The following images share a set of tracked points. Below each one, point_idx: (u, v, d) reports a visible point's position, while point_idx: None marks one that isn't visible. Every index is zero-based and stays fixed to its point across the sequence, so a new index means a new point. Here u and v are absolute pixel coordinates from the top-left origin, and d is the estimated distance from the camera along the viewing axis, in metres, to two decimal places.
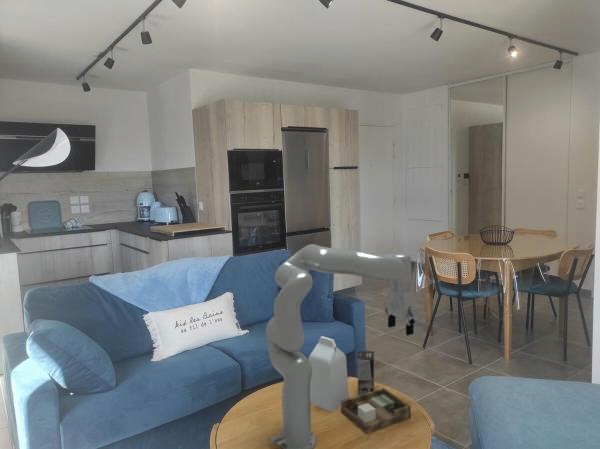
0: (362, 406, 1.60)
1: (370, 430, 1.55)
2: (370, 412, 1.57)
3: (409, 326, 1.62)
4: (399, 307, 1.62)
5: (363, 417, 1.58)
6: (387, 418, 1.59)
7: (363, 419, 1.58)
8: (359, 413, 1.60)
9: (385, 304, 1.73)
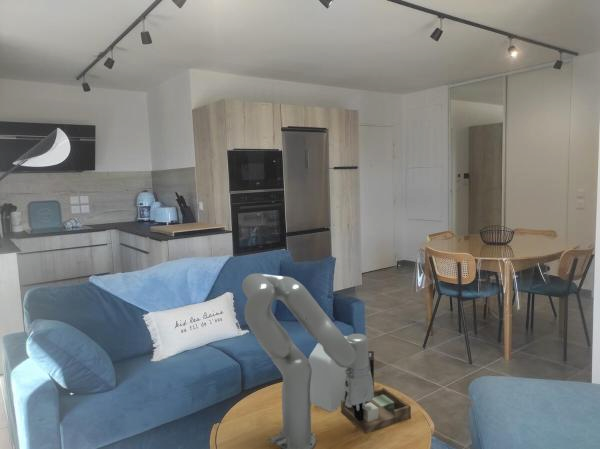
0: (365, 405, 1.61)
1: (370, 430, 1.55)
2: (372, 411, 1.58)
3: (362, 409, 1.58)
4: (368, 390, 1.55)
5: (366, 416, 1.58)
6: (387, 418, 1.59)
7: (366, 418, 1.58)
8: None
9: (348, 404, 1.55)
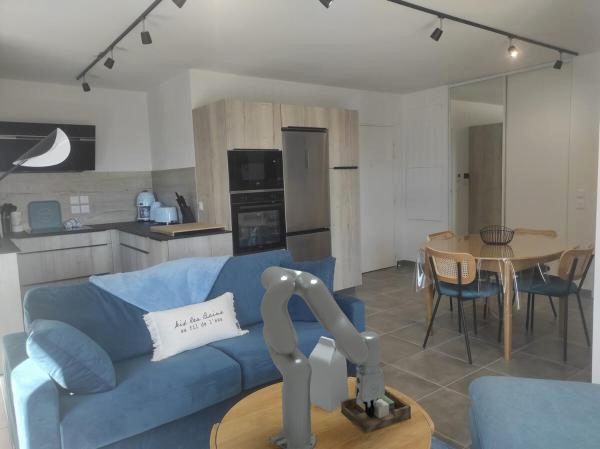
0: (376, 402, 1.63)
1: (370, 430, 1.55)
2: (383, 407, 1.60)
3: None
4: (379, 386, 1.58)
5: (377, 412, 1.60)
6: (387, 418, 1.59)
7: (377, 414, 1.60)
8: None
9: (359, 401, 1.57)
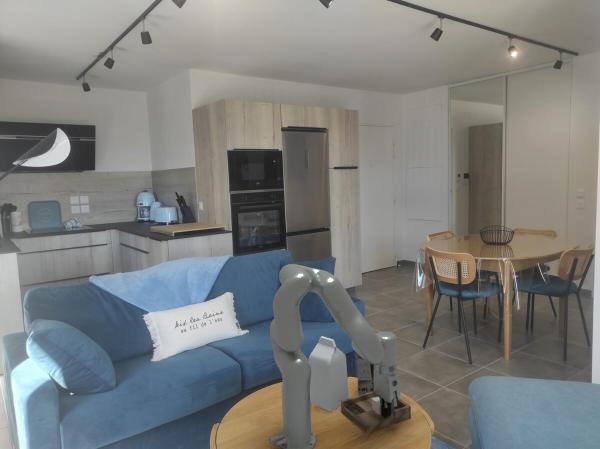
0: (376, 399, 1.65)
1: (370, 430, 1.55)
2: None
3: None
4: None
5: (377, 409, 1.62)
6: (387, 418, 1.59)
7: (377, 411, 1.62)
8: (373, 405, 1.65)
9: None
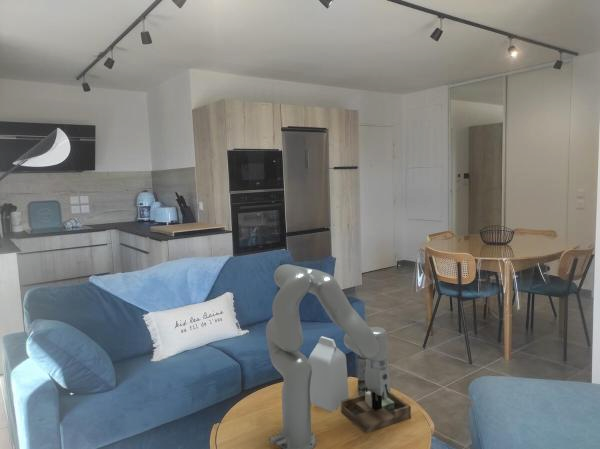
0: (369, 392, 1.70)
1: (370, 430, 1.55)
2: None
3: None
4: None
5: (370, 402, 1.67)
6: (387, 418, 1.59)
7: (370, 404, 1.68)
8: (366, 398, 1.70)
9: None
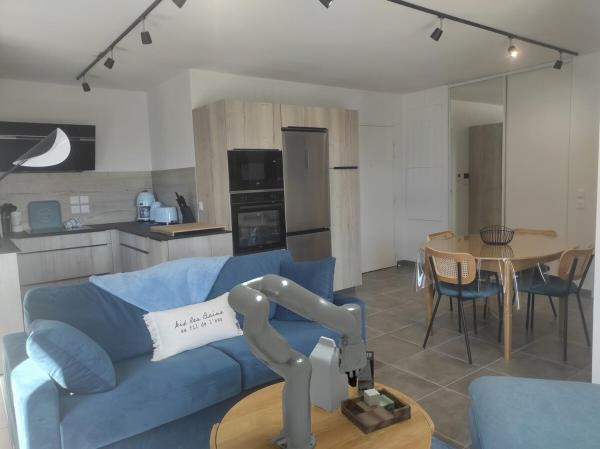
0: (368, 390, 1.71)
1: (370, 430, 1.55)
2: (374, 396, 1.68)
3: None
4: (361, 357, 1.62)
5: (368, 401, 1.69)
6: (387, 418, 1.59)
7: (368, 402, 1.69)
8: (365, 396, 1.71)
9: (342, 371, 1.61)
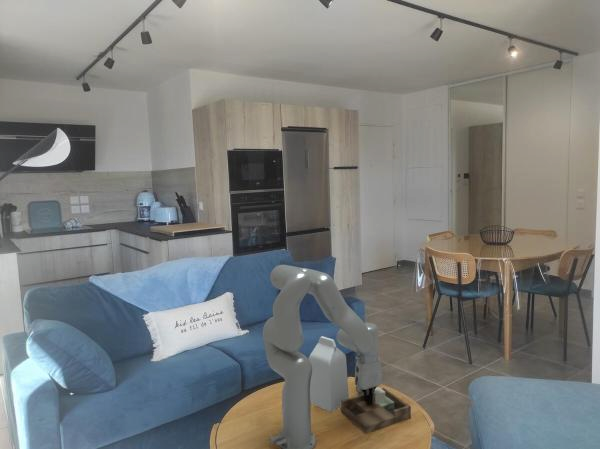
0: None
1: (370, 430, 1.55)
2: (380, 394, 1.69)
3: None
4: (378, 375, 1.66)
5: (373, 399, 1.70)
6: (387, 418, 1.59)
7: (373, 401, 1.70)
8: None
9: (358, 389, 1.65)
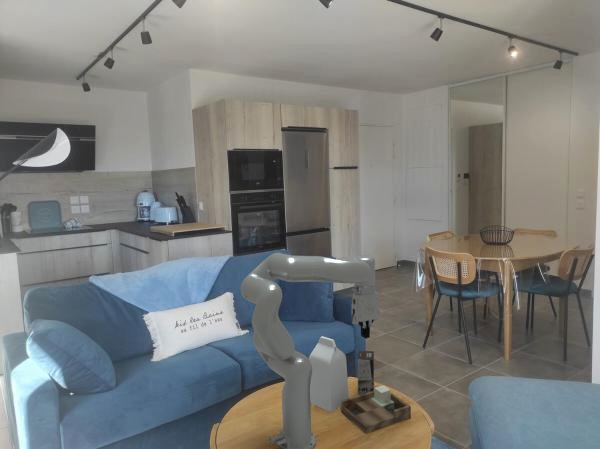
0: (378, 387, 1.73)
1: (370, 430, 1.55)
2: (385, 392, 1.71)
3: None
4: (375, 308, 1.63)
5: (379, 397, 1.71)
6: (387, 418, 1.59)
7: (379, 399, 1.71)
8: (375, 394, 1.73)
9: (355, 321, 1.63)
